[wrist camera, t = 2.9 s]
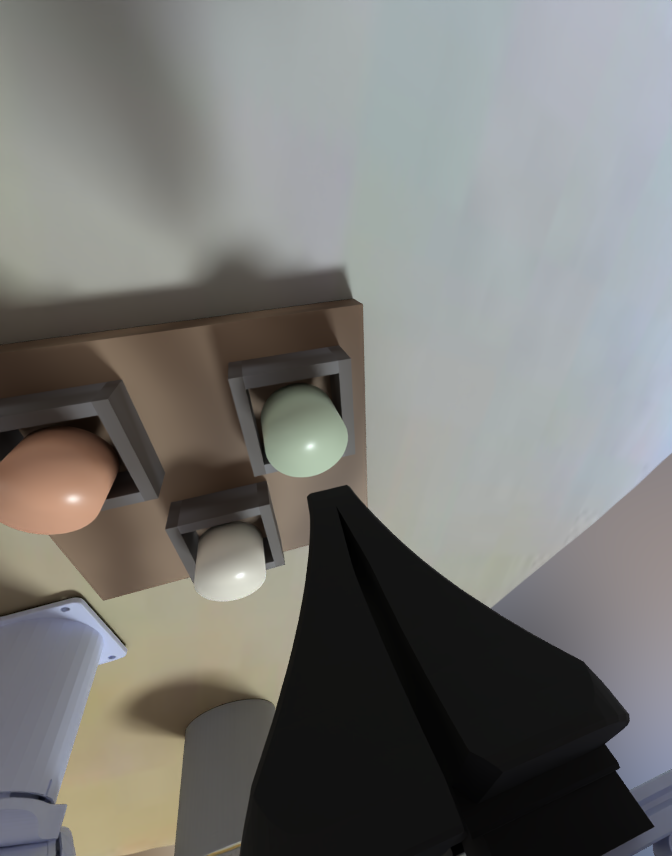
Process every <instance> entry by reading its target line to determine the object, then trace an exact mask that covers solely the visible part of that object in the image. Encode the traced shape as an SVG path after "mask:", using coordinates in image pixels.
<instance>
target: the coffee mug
mask: <svg viewBox="0 0 672 856" xmlns="http://www.w3.org/2000/svg"><path fill="white" fill-rule="evenodd" d="M274 714H275V706H274V705H273V704H272V703H271V702H269V701H266V700H261V699H247V700H240V701H235V702H231V703H227V704H224V705H221V706H218V707H216V708H213V709H211V710H209V711H207V712H205V713H203V714H201V715H200V716H198V717H197V718H195V719H194V720H193V721H192V722H191V723H190V724H189V725H188V727H187V729H186V733H185V744H184V755H183V766H182V777H181V788H180V798H179V809H178V820H177V831H176V842H175V854H174V856H239V854H240V847H241V840H242V835H243V829H244V823H245V818H246V812H247V807H248V802H249V797H250V790H251V785H252V782H253V779H254V776H255V773H256V770H257V767H258V764H259V761H260V758H261V754H262V751H263V748H264V745H265V742H266V739H267V736H268V733H269V730H270V727H271V724H272V720H273V717H274Z"/></svg>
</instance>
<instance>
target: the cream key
mask: <svg viewBox="0 0 672 856" xmlns="http://www.w3.org/2000/svg"><path fill="white" fill-rule="evenodd" d="M265 578H266V567H265V557H264V546H263V537H262V534H261V532H260V530H259V529H258V528H257V527H255V526H254V525H252V524H250V523H247V522H242V521H233V522H229V523H225V524H220V525H216V526H213V527H211V528H209V529H208V530H207V531H205V532H204V533H203V534H202V536H201V537H200V539H199V542H198V550H197V559H196V568H195V578H194V588H195V590H196V591H197V593H198V594H199V595H201V596H202V597H204V598H206V599H209V600H213V601H232V600H237V599H240V598H243V597H246V596H248V595H250V594H252V593H253V592H255V591H256V590H257V589H258V588H260V587H261V585H262V584H263V583H264V581H265Z"/></svg>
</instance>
